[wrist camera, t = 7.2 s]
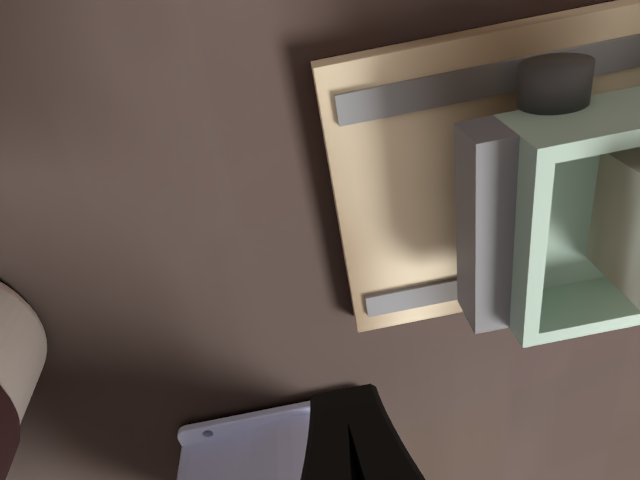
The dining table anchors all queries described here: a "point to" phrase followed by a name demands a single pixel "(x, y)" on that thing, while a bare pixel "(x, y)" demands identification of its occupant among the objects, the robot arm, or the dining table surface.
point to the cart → (540, 204)
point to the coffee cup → (17, 368)
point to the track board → (435, 142)
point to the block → (617, 221)
